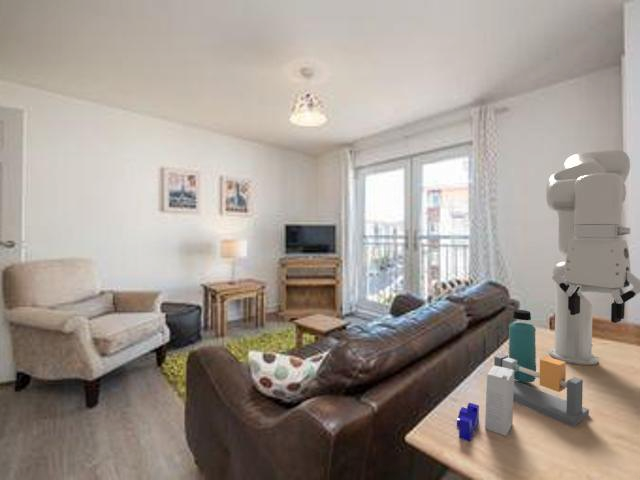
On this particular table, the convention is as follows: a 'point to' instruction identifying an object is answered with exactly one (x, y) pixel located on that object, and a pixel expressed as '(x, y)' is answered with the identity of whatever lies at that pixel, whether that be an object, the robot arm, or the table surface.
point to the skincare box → (499, 400)
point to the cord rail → (547, 395)
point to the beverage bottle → (522, 345)
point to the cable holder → (468, 421)
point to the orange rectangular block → (552, 373)
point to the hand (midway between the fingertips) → (594, 317)
